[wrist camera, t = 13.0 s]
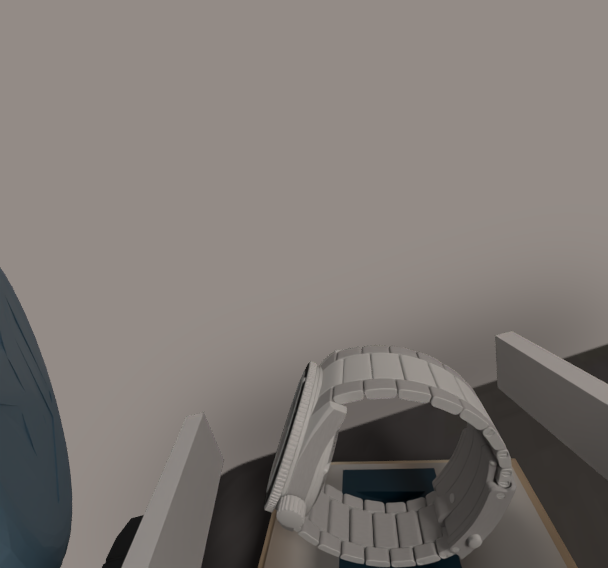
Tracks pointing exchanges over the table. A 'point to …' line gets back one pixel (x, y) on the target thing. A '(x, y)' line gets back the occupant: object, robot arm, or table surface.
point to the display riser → (478, 564)
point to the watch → (388, 482)
